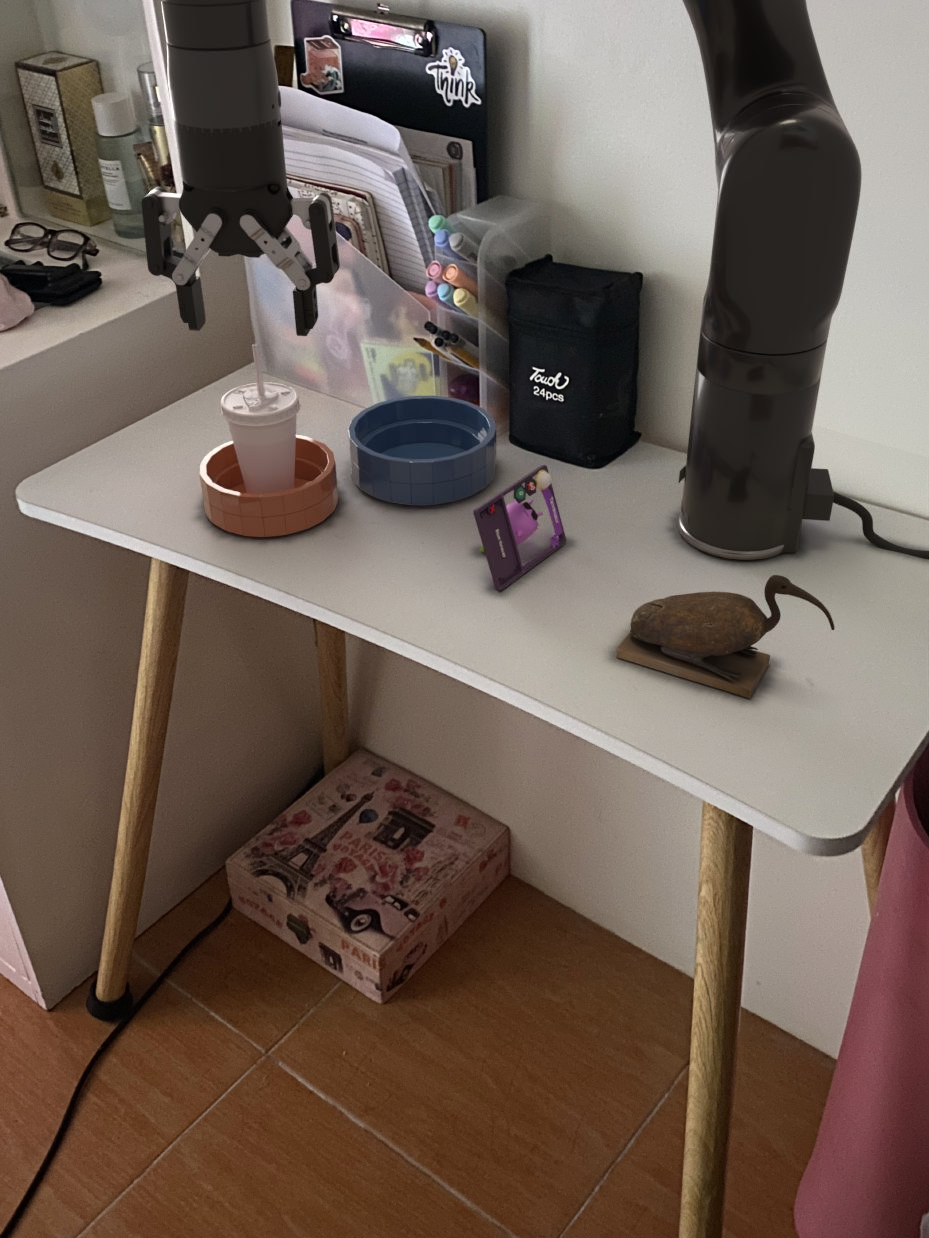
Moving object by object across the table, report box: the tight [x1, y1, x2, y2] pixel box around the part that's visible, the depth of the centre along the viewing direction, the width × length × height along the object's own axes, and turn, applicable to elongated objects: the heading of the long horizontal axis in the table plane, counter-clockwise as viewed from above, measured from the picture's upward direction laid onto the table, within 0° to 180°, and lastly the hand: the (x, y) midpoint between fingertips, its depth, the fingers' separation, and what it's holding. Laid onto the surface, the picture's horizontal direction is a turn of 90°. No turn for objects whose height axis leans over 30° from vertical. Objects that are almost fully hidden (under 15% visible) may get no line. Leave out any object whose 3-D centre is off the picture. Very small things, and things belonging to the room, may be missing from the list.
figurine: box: [615, 574, 836, 699], centre depth 83 cm, size 14×4×9 cm, turn 61°
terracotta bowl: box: [198, 433, 339, 538], centre depth 103 cm, size 11×11×4 cm
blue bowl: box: [347, 395, 497, 506], centre depth 107 cm, size 13×13×4 cm
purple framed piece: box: [472, 464, 567, 591], centre depth 96 cm, size 7×5×9 cm
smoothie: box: [220, 343, 302, 494], centre depth 100 cm, size 6×6×14 cm
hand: (251, 330), depth 95 cm, fingers open, 8 cm apart
